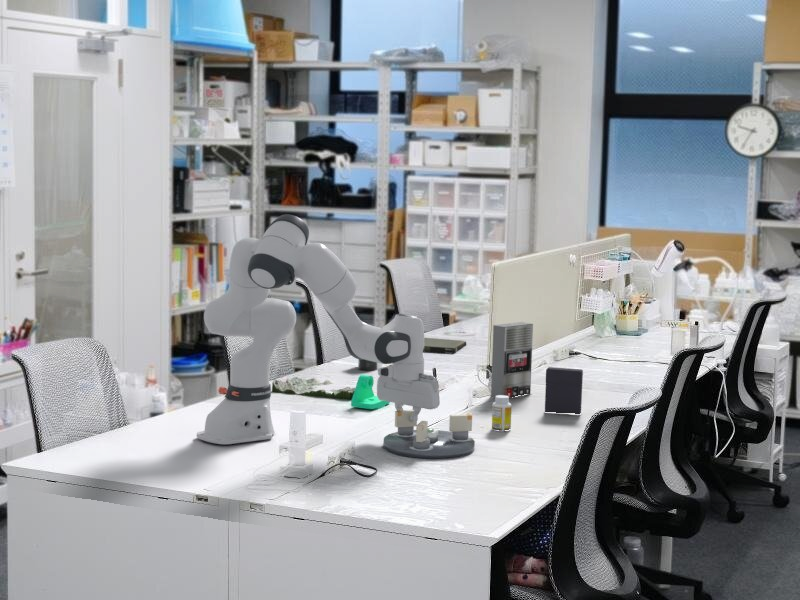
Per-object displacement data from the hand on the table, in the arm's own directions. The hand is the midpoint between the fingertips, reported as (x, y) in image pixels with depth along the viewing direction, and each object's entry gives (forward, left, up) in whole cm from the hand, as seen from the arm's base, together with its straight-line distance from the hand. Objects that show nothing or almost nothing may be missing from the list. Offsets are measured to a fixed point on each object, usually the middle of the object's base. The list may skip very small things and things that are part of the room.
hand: (407, 420), depth 329 cm
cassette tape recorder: (+68, +18, -6) cm, 71 cm away
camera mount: (+23, +38, -6) cm, 45 cm away
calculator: (+60, -9, -6) cm, 61 cm away
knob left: (-8, -13, -4) cm, 16 cm away
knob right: (+7, -13, -4) cm, 16 cm away
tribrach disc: (-1, -9, -6) cm, 11 cm away
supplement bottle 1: (+64, +82, -6) cm, 104 cm away
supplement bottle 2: (+30, -9, -6) cm, 32 cm away
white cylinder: (+67, +84, -6) cm, 108 cm away
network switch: (+115, +96, -7) cm, 150 cm away
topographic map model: (+35, +69, -7) cm, 78 cm away
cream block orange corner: (-1, 0, -4) cm, 4 cm away
